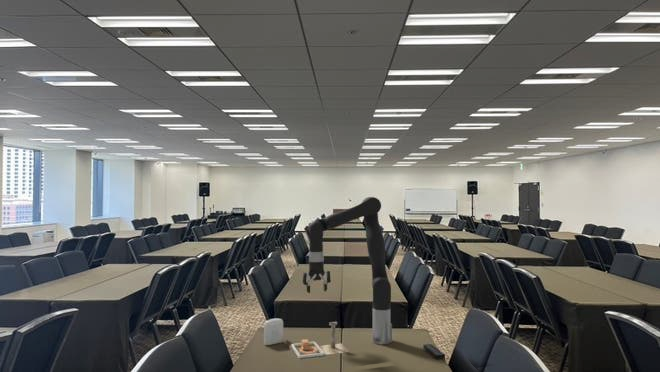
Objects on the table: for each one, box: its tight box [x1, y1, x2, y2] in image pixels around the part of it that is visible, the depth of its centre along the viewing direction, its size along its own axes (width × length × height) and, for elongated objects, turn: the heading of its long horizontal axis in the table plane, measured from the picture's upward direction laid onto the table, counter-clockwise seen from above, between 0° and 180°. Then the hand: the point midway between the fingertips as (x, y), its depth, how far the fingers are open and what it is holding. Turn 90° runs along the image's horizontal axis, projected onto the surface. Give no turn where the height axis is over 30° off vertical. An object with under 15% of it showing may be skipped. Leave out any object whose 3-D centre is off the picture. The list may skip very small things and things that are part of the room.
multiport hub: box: [422, 343, 446, 360], centre depth 197 cm, size 4×14×2 cm, turn 12°
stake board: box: [318, 321, 351, 356], centre depth 199 cm, size 12×12×14 cm
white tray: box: [291, 341, 325, 359], centre depth 196 cm, size 12×16×2 cm
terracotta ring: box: [298, 338, 319, 355], centre depth 197 cm, size 8×13×4 cm
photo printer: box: [263, 317, 284, 346], centre depth 211 cm, size 10×4×12 cm, turn 123°
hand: (316, 292), depth 210 cm, fingers open, 8 cm apart
